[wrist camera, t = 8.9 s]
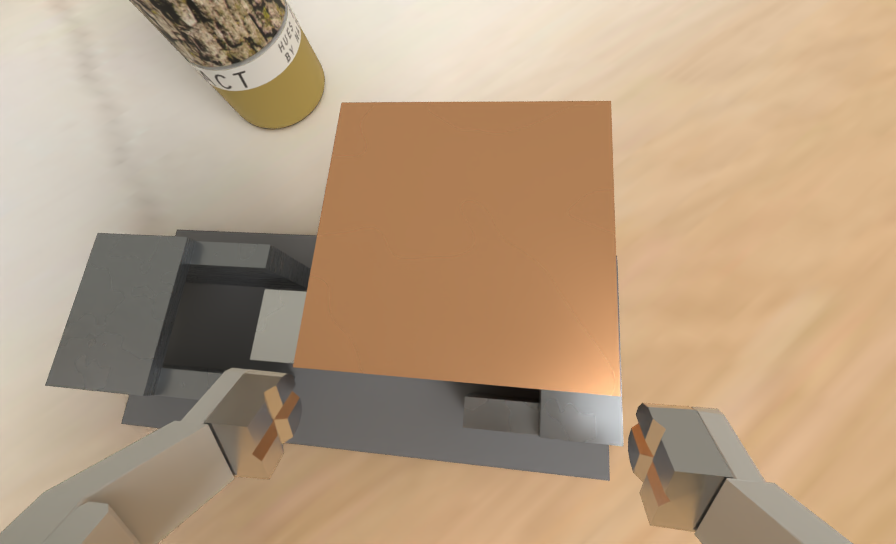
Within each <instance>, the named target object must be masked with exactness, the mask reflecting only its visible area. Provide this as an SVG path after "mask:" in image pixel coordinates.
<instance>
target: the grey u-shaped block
mask: <svg viewBox="0 0 896 544" xmlns="http://www.w3.org/2000/svg"><path fill="white" fill-rule="evenodd" d="M310 271H311V269H310V268H308V267H307V266H305V265H303V264H302V263H300V262H298V261H297V260H295V259H293V258H292V257H290V256H288V255H287V254H285V253H284V252H282V251H280V250H279V249H277V248H275V247H274V246H272V245H268V244H246V243H224V242H202V241H195V240H193V239H191V238H188V237H176V236H154V235H131V234H108V233H98V234H97V237H96V240H95V243H94V245H93V248H92V251H91V254H90V257H89V260H88V263H87V266H86V269H85V271H84V274H83V277H82V280H81V283H80V286H79V289H78V292H77V295H76V298H75V300H74V303H73V306H72V309H71V312H70V315H69V318H68V321H67V324H66V327H65V329H64V332H63V335H62V338H61V341H60V344H59V347H58V350H57V353H56V355H55V358H54V361H53V364H52V367H51V370H50V373H49V376H48V379H47V382H46V384H45V386H54V387H64V388H73V389H83V390H92V391H102V392H111V393H121V394H130V395H140V396H150V395H157V396H166V397H176V398H186V399H195V400H200V399H201V398H202V396H203V395H204V394H205V393H206V392H207V391H208V390H209V389H210V387H211V386H212V385H213V384H214V383H215V382H216V381H217V380H218V378H219V377H220V376H221V375H222V374H223V373H224V372H225V371H226V370H224V369H213V368H202V367H192V366H181V365H170V364H163V362H164V359H165V355H166V351H167V348H168V344H169V340H170V337H171V333H172V329H173V325H174V322H175V318H176V314H177V311H178V307H179V303H180V300H181V296H182V292H183V289H184V285H185V283H200V284H217V285H233V286H249V287H266V288H282V289H299V290H307V288H308V282H309V277H310ZM293 378H294V380H295V376H293ZM292 391H293V390H292Z"/></svg>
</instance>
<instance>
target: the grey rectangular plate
mask: <svg viewBox="0 0 896 544" xmlns="http://www.w3.org/2000/svg"><path fill="white" fill-rule="evenodd" d="M175 236H176V237H188V238H191V239H193V240H195V241H202V242H224V243H246V244H268V245H272V246H274V247H275V248H277V249H279V250H280V251H282V252H284V253H285V254H287V255H288V256H290V257H292V258H293V259H295V260H297V261H298V262H300V263H302V264H303V265H305V266H307V267H308V268H310V269H311V266H312V261H313V255H314V250H315V244H316V239H317V236H314V235H290V234H266V233H242V232H218V231H194V230H177V232H176V235H175ZM265 289H271V290H287V291H303V292H307V290H299V289H282V288H266V287H249V286H233V285H217V284H200V283H185V285H184V289H183V292H182V296H181V300H180V303H179V307H178V311H177V314H176V318H175V322H174V325H173V329H172V333H171V337H170V340H169V344H168V348H167V351H166V355H165V359H164V362H163V364H170V365H181V366H192V367H202V368H213V369H224V370H228V369H230V368H240V369H249V370H250V369H252V370H261V371H270V372H279V373H287V374H291V375H293V376H295V380H294V381H295V384H296V385H295V387H294V389H293V392H294V393H295V394H296V395H297V396H299V397H300V400H301V404H302V415H301V419H300V423H299V426H298V428H297V430H296V432H295V434H294V436H293V437H292V438H290V439H289V440H288V441H286V442H285V443H291V444H300V445H308V446H317V447H326V448H334V449H343V450H351V451H360V452H368V453H377V454H385V455H394V456H403V457H411V458H420V459H428V460H437V461H445V462H454V463H463V464H471V465H480V466H488V467H497V468H505V469H514V470H523V471H531V472H540V473H548V474H557V475H565V476H574V477H583V478H591V479H600V480H608V481H610V474H609V445H605V444H596V443H586V442H577V441H567V440H558V439H548V438H540V437H539V435H530V434H521V433H511V432H501V431H492V430H482V429H473V428H463V417H464V402H465V396H466V395H468V394H469V393H471V392H473V393H484V394H495V395H506V396H517V397H527V398H538V399H539V389H531V388H520V387H509V386H498V385H487V384H475V383H464V382H453V381H442V380H431V379H419V378H408V377H397V376H386V375H374V374H363V373H352V372H341V371H330V370H318V369H307V368H296V367H293V364H294V363H283V362H271V361H260V360H250V356H251V352H252V347H253V342H254V338H255V333H256V328H257V324H258V319H259V314H260V310H261V305H262V300H263V296H264V291H265ZM198 401H199V400H195V399H186V398H176V397H166V396H157V395H150V396H140V395H129V399H128V402H127V405H126V409H125V412H124V416H123V419H122V423H121V424H128V425H137V426H146V427H154V428H162V427H164V426H166V425H167V424H169V423H171V422H173V421H181V420H182V419H183V418H184V417H185V416H186V414H187V413H188V412H189V411H190V410H191V409H192V408H193V407H194V405H195V404H196V403H197V402H198Z"/></svg>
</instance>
